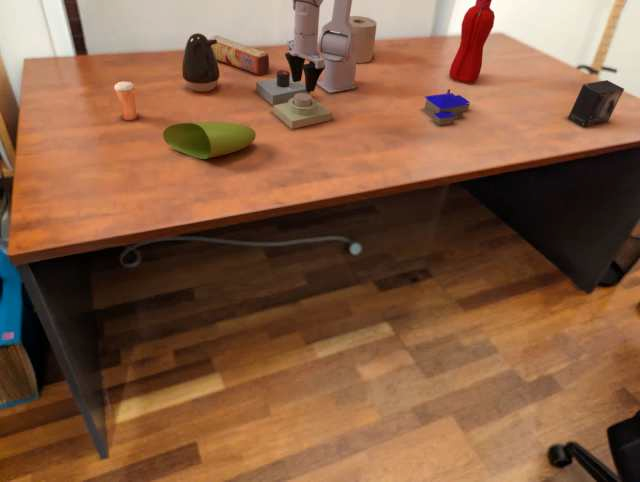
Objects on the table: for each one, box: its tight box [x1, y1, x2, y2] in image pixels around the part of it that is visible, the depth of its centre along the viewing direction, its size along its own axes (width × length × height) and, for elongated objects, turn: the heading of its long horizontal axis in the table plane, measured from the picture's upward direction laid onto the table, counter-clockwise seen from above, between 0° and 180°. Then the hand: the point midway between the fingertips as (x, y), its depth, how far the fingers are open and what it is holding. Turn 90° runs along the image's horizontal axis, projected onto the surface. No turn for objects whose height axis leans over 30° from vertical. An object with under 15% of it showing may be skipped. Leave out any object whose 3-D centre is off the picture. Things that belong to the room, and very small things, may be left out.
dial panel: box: [255, 75, 311, 106], centre depth 141 cm, size 12×10×3 cm
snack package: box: [208, 35, 270, 76], centre depth 154 cm, size 21×7×7 cm, turn 56°
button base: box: [272, 97, 332, 130], centre depth 131 cm, size 12×10×4 cm
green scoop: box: [162, 121, 257, 160], centre depth 113 cm, size 8×12×20 cm
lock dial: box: [276, 69, 291, 87], centre depth 139 cm, size 4×4×4 cm
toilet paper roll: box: [340, 15, 377, 64], centre depth 166 cm, size 12×12×12 cm
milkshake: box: [113, 74, 138, 121], centre depth 122 cm, size 4×5×10 cm
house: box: [423, 88, 471, 126], centre depth 138 cm, size 11×14×6 cm
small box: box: [567, 79, 625, 128], centre depth 140 cm, size 11×6×10 cm, turn 117°
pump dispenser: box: [181, 32, 221, 93], centre depth 137 cm, size 10×10×15 cm
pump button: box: [294, 93, 313, 107], centre depth 130 cm, size 5×5×2 cm
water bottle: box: [449, 0, 496, 84], centre depth 153 cm, size 9×11×25 cm
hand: (303, 86), depth 127 cm, fingers open, 6 cm apart
